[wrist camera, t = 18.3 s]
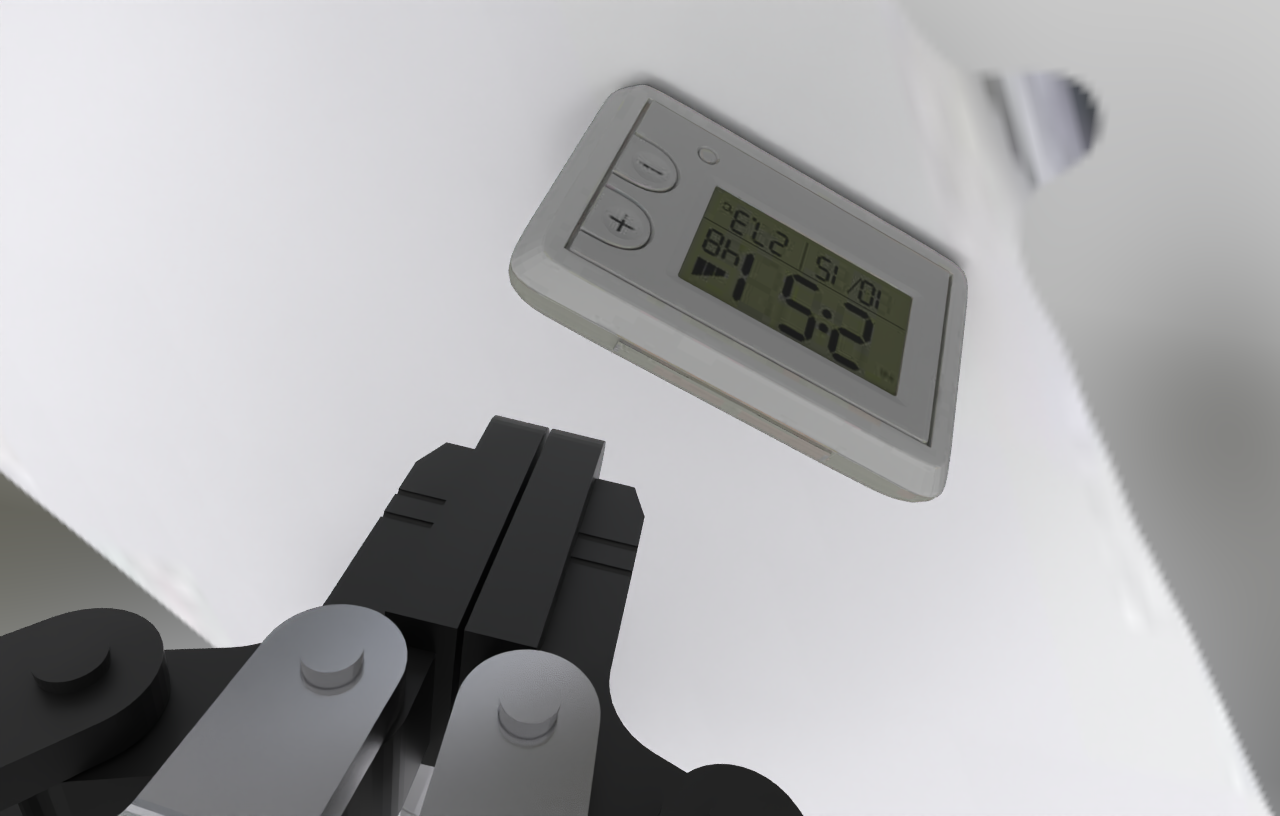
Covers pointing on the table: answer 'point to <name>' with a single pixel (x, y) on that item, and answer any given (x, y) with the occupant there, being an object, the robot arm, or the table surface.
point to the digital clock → (752, 291)
